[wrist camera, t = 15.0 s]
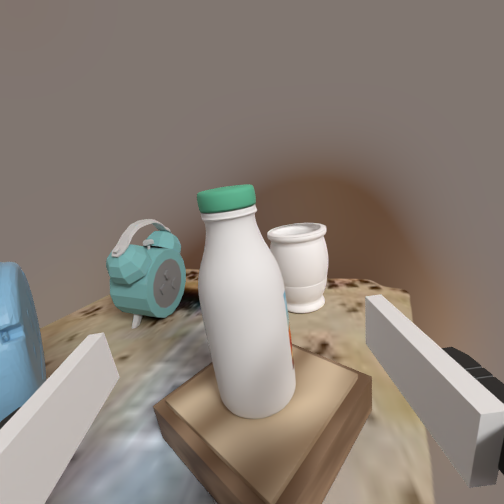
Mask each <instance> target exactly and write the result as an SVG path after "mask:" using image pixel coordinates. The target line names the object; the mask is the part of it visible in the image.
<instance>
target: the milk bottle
mask: <svg viewBox="0 0 504 504" xmlns="http://www.w3.org/2000/svg"><path fill="white" fill-rule="evenodd" d="M197 201H198V206H199V210H200V212H201V219H202V220H204V222H205V226H206V243H205V249H204V254H203V258H202V262H201V267H200V271H199V279H198V289H199V299H200V305H201V310H202V316H203V321H204V325H205V330H206V335H207V340H208V344H209V349H210V353H211V358H212V362H213V367H214V371H215V376H216V380H217V384H218V389H219V392H220V396H221V399H222V402H223V403H224V405H225V406H226V407H227V408H228V409H229V410H230V411H231V412H232V413H233V414H236V415H237V416H239V417H243V418H246V419H263V418H266V417H270V416H272V415H274V414H276V413H278V412H279V411H281V410H282V409H284V408H285V406H286V405H287V404H288V403H289V402H290V400H291V398H292V396H293V394H294V391H295V387H296V379H295V368H294V359H293V351H292V342H291V333H290V325H289V317H288V309H287V301H286V294H285V288H284V282H283V278H282V274H281V271H280V268H279V265H278V263H277V261H276V259H275V257H274V256H273V254H272V252H271V251H270V249H269V248H268V246H267V245H266V243H265V241H264V239H263V238H262V236H261V233H260V231H259V229H258V227H257V224H256V220H255V212H256V211H257V209H256V206H255V203H256V202H255V201H256V199H255V192H254V188H253V186H252V185H237V186H228V187H222V188H216V189H210V190H206V191H202V192H199V193H198V194H197Z"/></svg>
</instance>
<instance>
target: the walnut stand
mask: <svg viewBox="0 0 504 504" xmlns="http://www.w3.org/2000/svg"><path fill="white" fill-rule="evenodd" d="M292 351H293V359H294V368H295V379H296V387H295V391H294V394H293V396H292V398H291V400H290V402H289V403H288V404H287V405H286V406H285V408H284V409H282V410H281V411H279V412H278V413H276V414H274V415H272V416H270V417H266V418H263V419H246V418H243V417H239V416H237V415H236V414H233V413H232V412H231V411H230V410H229V409H228V408H227V407H226V406H225V405H224V403H223V402H222V399H221V396H220V392H219V389H218V384H217V380H216V376H215V371H214V367H213V362H212V363H210V364H209V365H208V366H206V367H205V368H204V369H202V370H201V371H200V372H198V373H197V374H196V375H194V376H193V377H192V378H190V379H189V380H188V381H186V382H185V383H184V384H182V385H181V386H180V387H178V388H177V389H176V390H174V391H173V392H172V393H170V394H169V395H168V396H166V397H165V398H163V399H162V400H161V401H159V402H158V403H157V404H155V405H154V406H153V408H154V411H155V414H156V417H157V420H158V424H159V427H160V430H161V433H162V436H163V439H164V440H165V441H166V442H167V443H168V445H169V446H170V447H171V448H172V449H173V450H174V452H175V453H176V454H177V455H178V456H179V458H180V459H181V460H182V461H183V462H184V464H185V465H186V466H187V467H188V468H189V470H190V471H191V472H192V473H193V474H194V476H195V477H196V478H197V479H198V480H199V482H200V483H201V484H202V485H203V486H204V488H205V489H206V490H207V491H208V492H209V494H210V495H211V496H212V497H213V498H214V499H215V501H216V502H217V503H218V504H322V502H323V500H324V499H325V497H326V495H327V493H328V491H329V489H330V487H331V485H332V484H333V482H334V480H335V478H336V476H337V474H338V472H339V471H340V469H341V467H342V465H343V463H344V461H345V459H346V457H347V456H348V454H349V452H350V450H351V448H352V446H353V444H354V443H355V441H356V439H357V437H358V435H359V433H360V431H361V429H362V428H363V426H364V424H365V422H366V420H367V418H368V416H369V414H370V413H371V411H372V377H371V376H368V375H366V374H364V373H361V372H359V371H356V370H354V369H352V368H349V367H347V366H344V365H342V364H340V363H337V362H335V361H332V360H330V359H328V358H325V357H323V356H320V355H318V354H316V353H313V352H311V351H308V350H306V349H304V348H301V347H299V346H296V345H294V344H292Z"/></svg>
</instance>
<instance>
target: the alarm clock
mask: <svg viewBox="0 0 504 504" xmlns="http://www.w3.org/2000/svg"><path fill="white" fill-rule="evenodd" d="M147 224H153V225H154V226H155V227H156V228H157V229H158V230H160V231H154V232H153V233H152V234H151V235H150V236H149V237H148V238H147V239H146V240H145V241H143V245H144V246H143V247H142V246H138V245H130V241H131V239H132V236H133V235H134V234H135V232H136V231H137V230H138V229H139V228H140V227H143V226H145V225H147ZM180 249H181V245H180V242H179V240H178V238H177V237H176V236H174V235H173V234H171V231H170V230H169V228H167V227H165V226H164V225H162V224H161V223H160V222H158V221H156V220H153V219H146V220H139V221H137V222H135V223H133V224H131V225H130V226H129V227H128V228H127V230H126V231H125V232H124V233H123V234H122V236H121V238H120V240H119V242H118V243H117V245H116V247H115V248H114V249H113V250H112V252H111V253H110V255H109V256H108V258H107V261H106V267H107V270H108V273H109V276H110V295H111V297H112V300H113V302H114V304H115V306H116V307H117V308H118V309H120V310H121V311H122V312H126V313H133V314H134V318H133V324H132V328H136V327H137V326H139V325H140V322H141V319H142V316H143V315H146V316H152V317H161V318H165V317H167V316H168V315H170V314H172V313H173V312H174V310H175V309H176V308H177V306H178V305H179V303H180V300H181V298H182V295H183V292H184V287H185V282H186V270H185V266H184V262H183V259H182V257H181V256H180Z"/></svg>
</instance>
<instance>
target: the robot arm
mask: <svg viewBox="0 0 504 504" xmlns="http://www.w3.org/2000/svg"><path fill="white" fill-rule="evenodd" d="M365 301H366V344H367V346H368V347H369V349H370V350H371V351H372V353H373V354H374V356H375V357H376V358H377V360H378V361H379V363H380V364H381V365H382V367H383V368H384V370H385V371H386V372H387V374H388V375H389V377H390V378H391V379H392V381H393V382H394V384H395V385H396V386H397V388H398V389H399V391H400V392H401V393H402V395H403V396H404V398H405V399H406V400H407V402H408V403H409V404H410V406H411V407H412V409H413V410H414V411H415V413H416V414H417V416H418V417H419V418H420V420H421V421H422V423H423V424H424V425H425V427H426V428H427V430H428V431H429V432H430V434H431V435H432V437H433V438H434V439H435V441H436V442H437V444H438V445H439V446H440V448H441V449H442V451H443V452H444V453H445V455H446V456H447V458H448V459H449V460H450V462H451V463H452V465H453V466H454V467H455V468H456V470H457V471H458V473H459V474H460V476H461V477H462V478H463V480H464V481H465V483H466V484H467V486H468V487H469V488H471V487H479V486H487V485H494V484H496V481H497V475H498V471H499V470H500V471H501V472H502V473H503V474H504V384H503V383H502V382H500V381H499V380H498V379H497V378H496V377H493V375H492V374H491V373H490V372H488V371H487V370H486V369H485V368H482V367H481V365H480V364H478V363H477V362H476V361H475V360H474V359H472V358H471V357H470V356H469V355H467V354H465V353H463V352H461V351H459V350H457V349H455V348H453V347H447V348H440V347H439V346H438V345H437V344H436V343H435V342H434V341H432V340H431V339H430V338H429V337H428V336H427V335H426V334H425V333H423V332H422V331H421V330H420V329H419V328H418V327H417V326H416V325H415V324H413V323H412V322H411V321H410V320H409V319H408V318H407V317H406V316H404V315H403V314H402V313H401V312H400V311H399V310H398V309H397V308H395V307H394V306H393V305H392V304H391V303H390V302H389V301H388V300H387V299H385V298H384V297H383V296H382V295H381V294H380V295H373V296H366V297H365ZM118 379H119V375H118V372H117V369H116V366H115V363H114V360H113V357H112V355H111V352H110V349H109V346H108V343H107V340H106V337H105V335H104V333H98V334H91V335H88V336H87V337H86V338H85V339H84V340H83V341H82V343H81V344H80V345H79V346H78V347H77V348H76V349H75V350H74V351H73V352H72V353H71V354H70V355H69V356H68V358H67V359H66V360H65V361H64V362H63V363H62V364H61V365H60V366H59V367H58V368H57V369H56V370H55V371H54V373H53V374H52V375H51V376H50V377H49V378H48V379H47V380H46V368H45V359H44V352H43V345H42V339H41V333H40V328H39V323H38V318H37V314H36V310H35V305H34V301H33V298H32V294H31V290H30V287H29V284H28V281H27V279H26V276H25V274H24V272H23V271H22V270H21V267H20V266H19V265H18V264H16V263H14V262H5V263H2V262H0V504H45V502H46V500H47V499H48V497H49V495H50V494H51V492H52V490H53V489H54V487H55V485H56V484H57V482H58V480H59V479H60V477H61V475H62V473H63V472H64V470H65V468H66V467H67V465H68V463H69V462H70V460H71V458H72V457H73V455H74V453H75V452H76V450H77V448H78V446H79V445H80V443H81V441H82V440H83V438H84V436H85V435H86V433H87V431H88V430H89V428H90V426H91V425H92V423H93V421H94V419H95V418H96V416H97V414H98V413H99V411H100V409H101V408H102V406H103V404H104V403H105V401H106V399H107V398H108V396H109V394H110V392H111V391H112V389H113V387H114V386H115V384H116V382H117V381H118Z"/></svg>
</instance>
